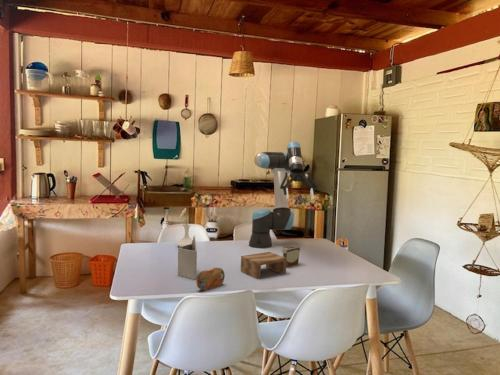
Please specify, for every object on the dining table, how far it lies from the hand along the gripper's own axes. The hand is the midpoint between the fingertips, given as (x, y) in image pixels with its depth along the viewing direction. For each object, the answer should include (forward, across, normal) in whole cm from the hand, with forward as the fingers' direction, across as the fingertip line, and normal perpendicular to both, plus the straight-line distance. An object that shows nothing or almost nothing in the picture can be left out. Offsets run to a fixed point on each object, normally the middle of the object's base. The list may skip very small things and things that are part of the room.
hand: (300, 200), depth 212 cm
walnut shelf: (+35, -20, +12) cm, 43 cm away
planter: (+37, -59, +10) cm, 70 cm away
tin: (+48, -47, -5) cm, 68 cm away
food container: (+28, -5, +23) cm, 37 cm away
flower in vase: (+4, -61, +56) cm, 83 cm away
